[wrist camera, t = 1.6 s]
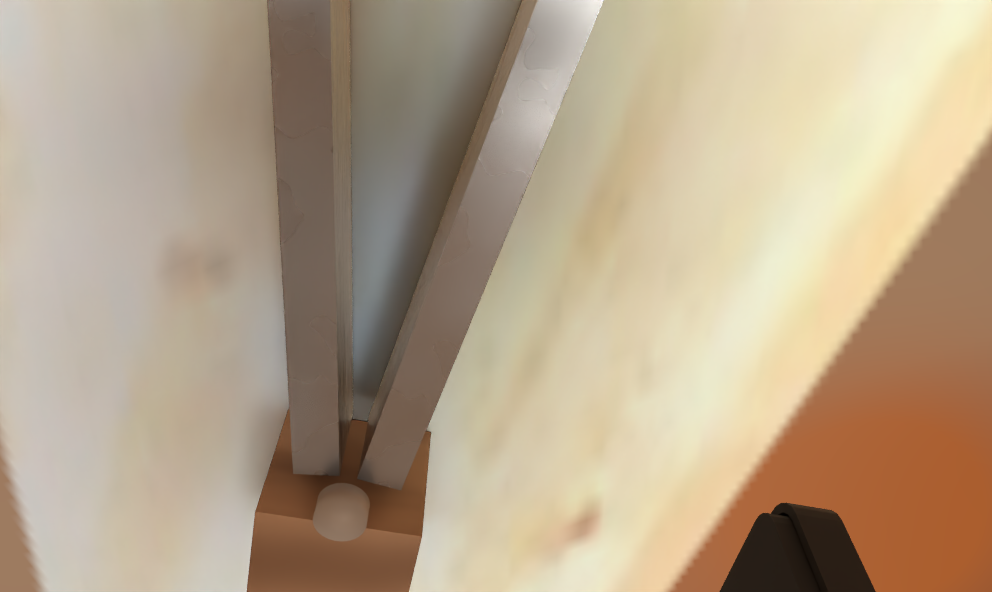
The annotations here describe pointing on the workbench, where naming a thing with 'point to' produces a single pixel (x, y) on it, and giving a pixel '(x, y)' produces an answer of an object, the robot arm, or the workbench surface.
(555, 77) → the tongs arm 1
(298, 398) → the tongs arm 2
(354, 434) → the pivot block
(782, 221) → the workbench surface
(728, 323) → the workbench surface
